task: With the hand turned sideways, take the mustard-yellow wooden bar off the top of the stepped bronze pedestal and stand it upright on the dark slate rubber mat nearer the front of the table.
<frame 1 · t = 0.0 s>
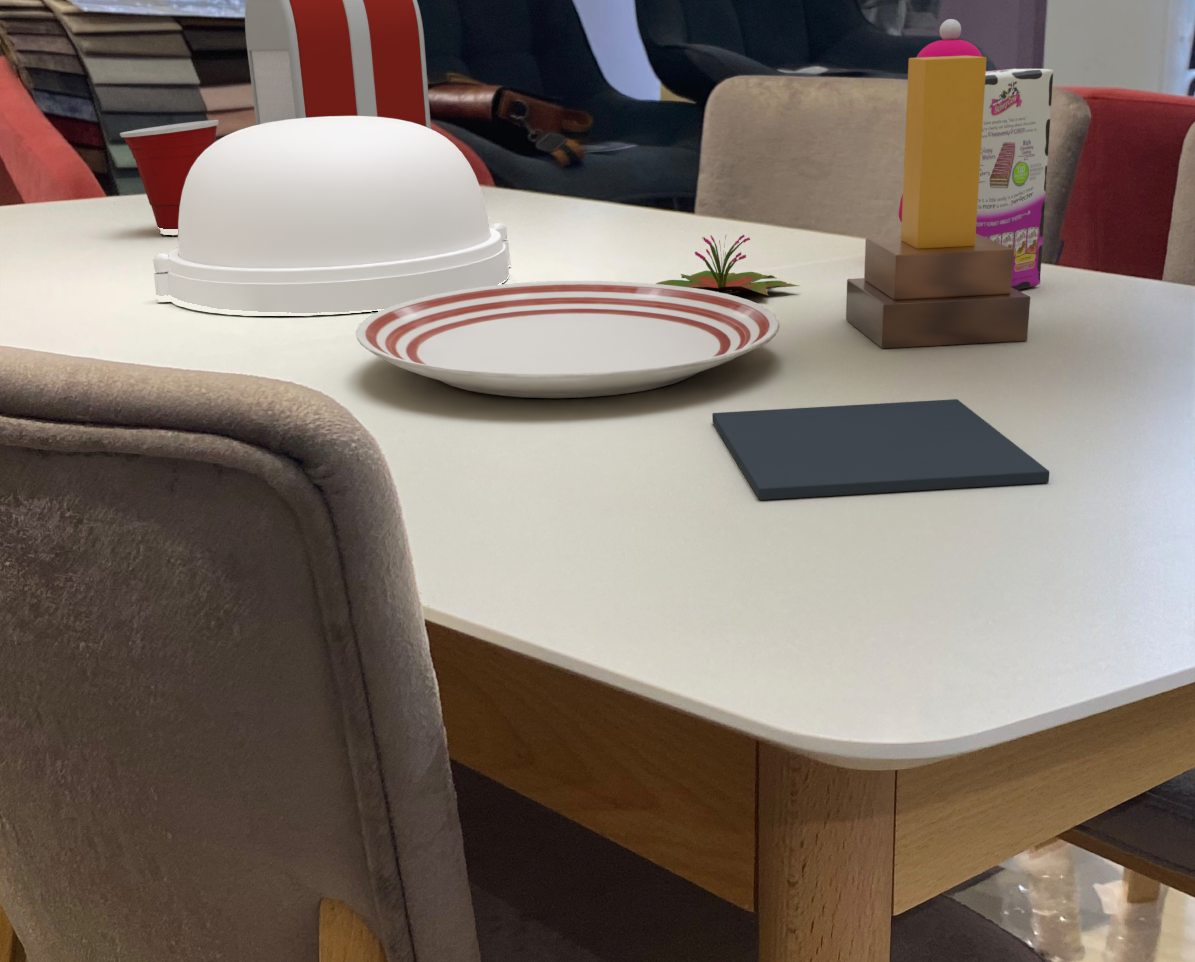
plastic cup: (185, 234, 164), on the table
pepper mill: (937, 263, 128), on the table
candy bar box: (970, 295, 114), on the table
dome cover: (341, 286, 128), on the table
mat: (867, 450, 74), on the table
lily flower: (722, 295, 117), on the table
stepped bronze pedestal: (932, 330, 101), on the table
bar: (937, 243, 99), point 6 cm above the table, touching stepped bronze pedestal
dinner plate: (569, 368, 95), on the table
red striped carton: (350, 203, 186), on the table
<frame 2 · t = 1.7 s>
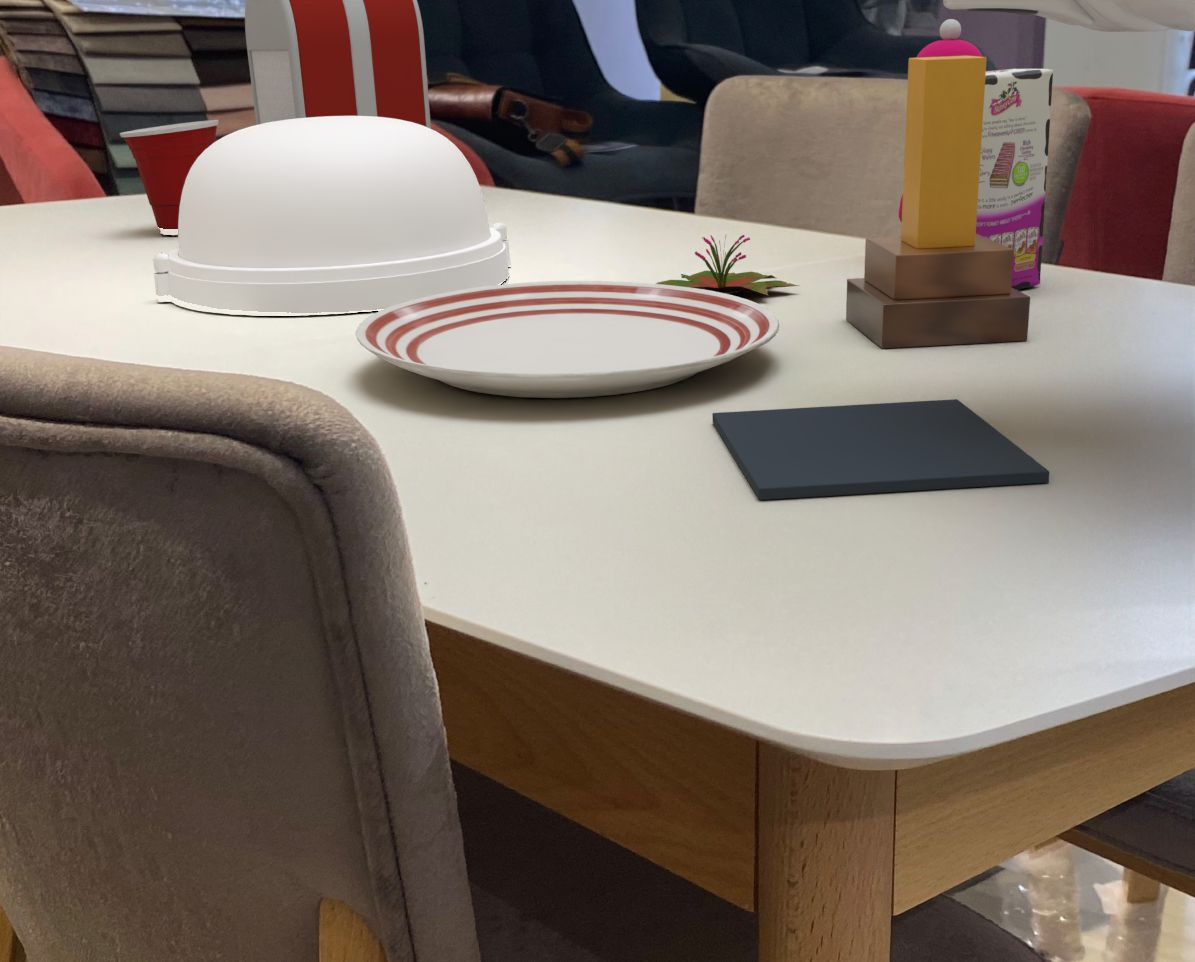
nothing on the table moved.
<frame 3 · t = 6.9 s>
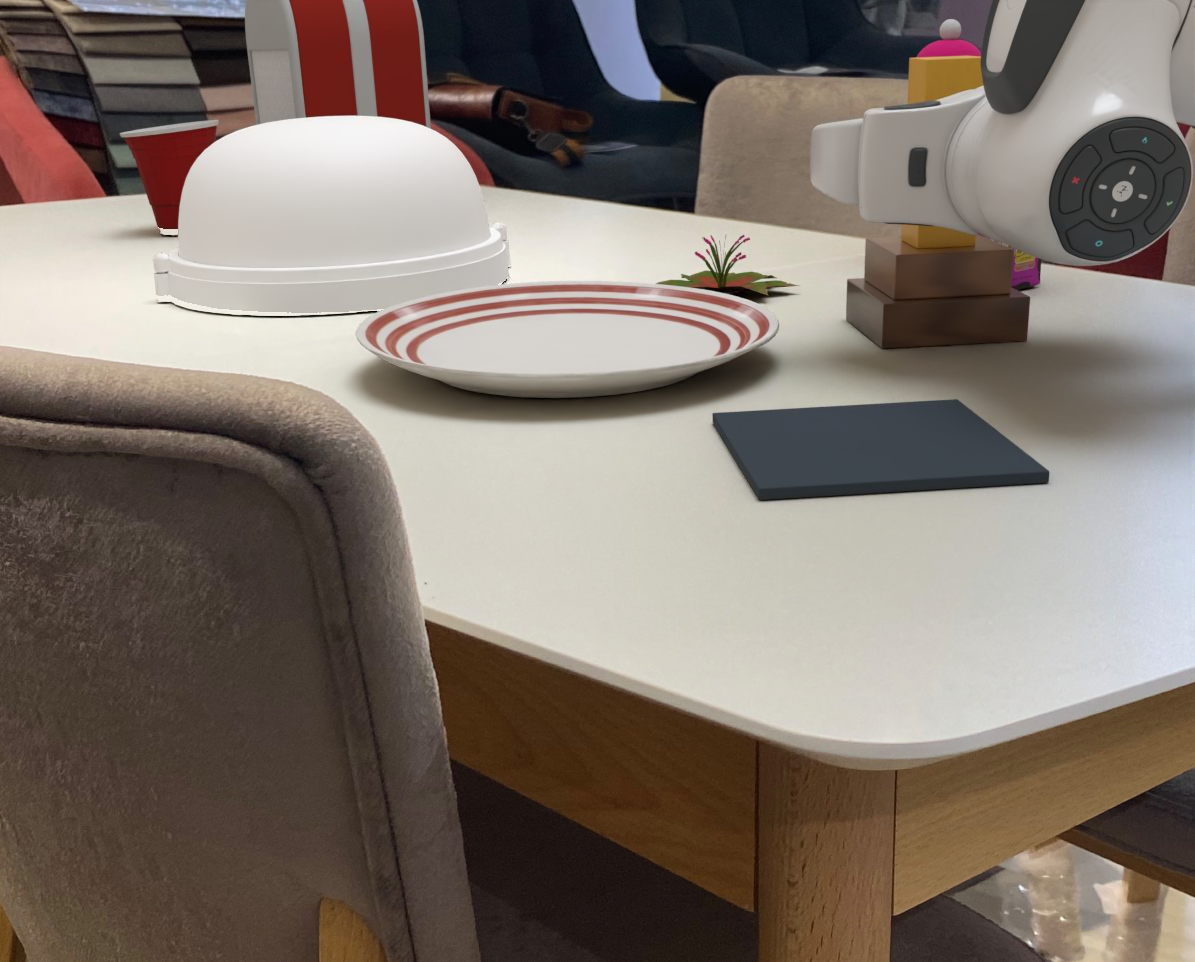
hand: (938, 142, 97), 13 cm above the table, tool horizontal, fingers closed on bar, 4 cm apart
bar: (937, 243, 99), point 6 cm above the table, touching gripper, stepped bronze pedestal
everything else where it was.
when the fingers open (7 cm above the table, at t = 17.9 s): bar stays where it is, resting on mat.
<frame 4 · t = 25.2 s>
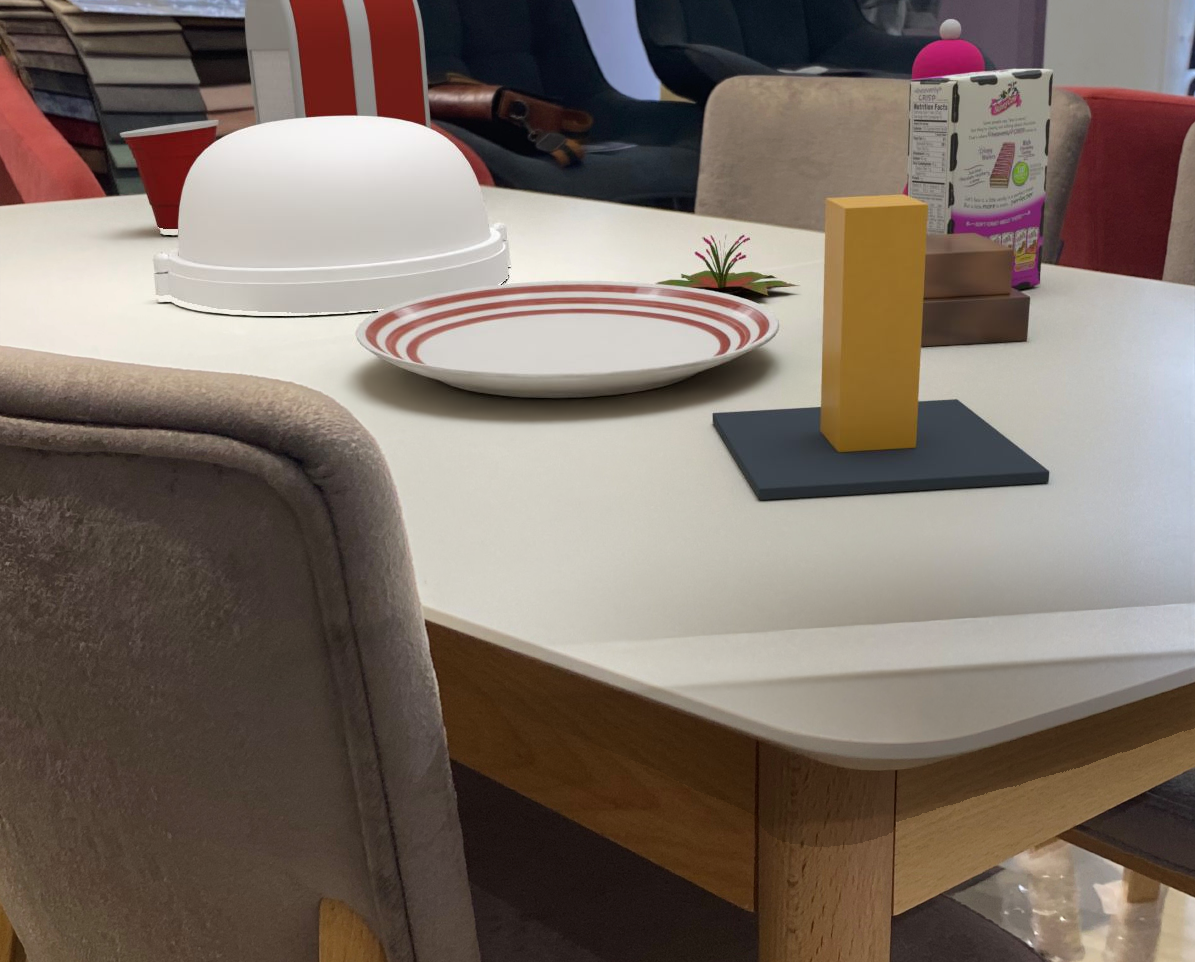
bar: (867, 439, 74), point 1 cm above the table, touching mat
everything else where it was.
at the end: bar inside the target area on the mat (0.0 cm from its centre), point 0.6 cm above the mat's base; bar tilted 0°; the gripper is holding nothing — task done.
